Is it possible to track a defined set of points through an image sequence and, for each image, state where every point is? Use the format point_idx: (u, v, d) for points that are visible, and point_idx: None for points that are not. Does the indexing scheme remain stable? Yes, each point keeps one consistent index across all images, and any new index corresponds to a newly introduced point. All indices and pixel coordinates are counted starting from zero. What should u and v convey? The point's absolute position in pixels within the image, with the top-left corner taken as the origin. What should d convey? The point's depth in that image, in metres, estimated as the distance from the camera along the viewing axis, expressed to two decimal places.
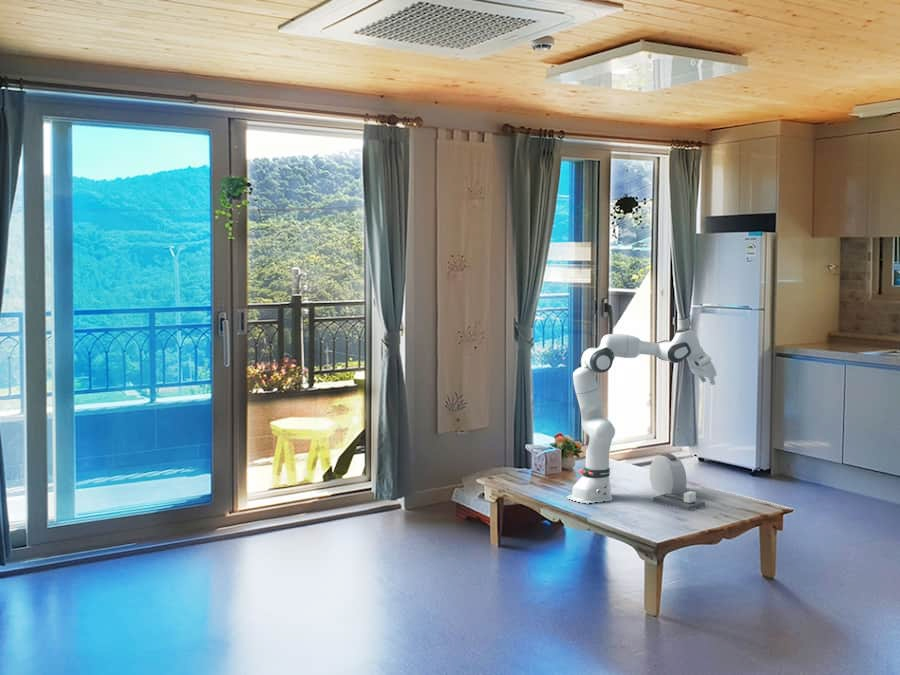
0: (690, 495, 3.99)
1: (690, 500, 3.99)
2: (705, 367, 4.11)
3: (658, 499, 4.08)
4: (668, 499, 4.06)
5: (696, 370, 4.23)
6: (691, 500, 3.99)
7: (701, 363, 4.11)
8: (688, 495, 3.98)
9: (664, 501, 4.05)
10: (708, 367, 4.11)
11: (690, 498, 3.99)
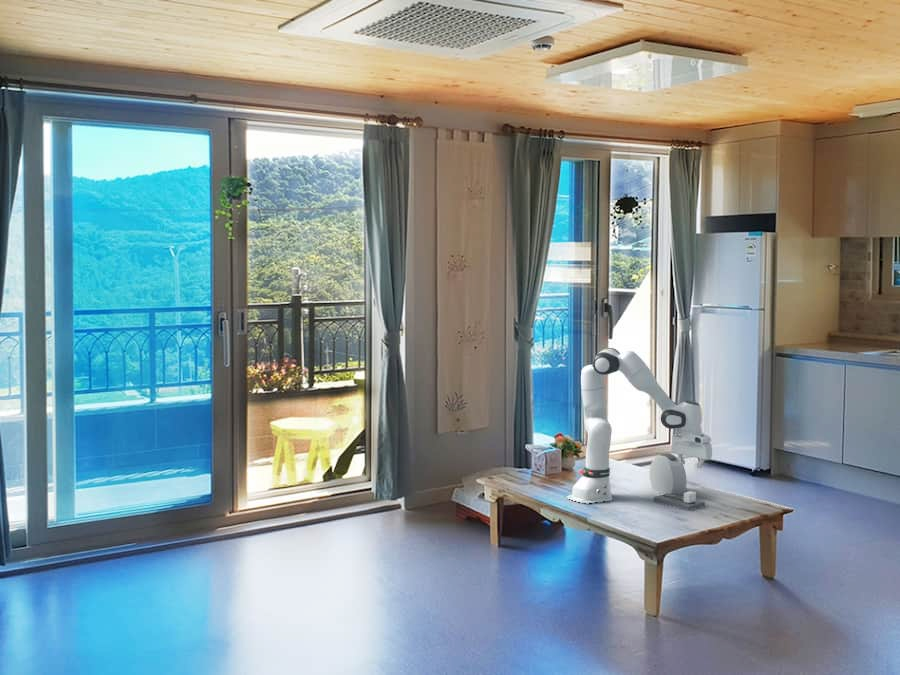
0: (690, 495, 3.99)
1: (690, 500, 3.99)
2: (706, 446, 3.90)
3: (658, 499, 4.08)
4: (668, 499, 4.06)
5: (683, 449, 4.00)
6: (691, 500, 3.99)
7: (704, 440, 3.90)
8: (688, 495, 3.98)
9: (664, 501, 4.05)
10: (708, 447, 3.91)
11: (690, 498, 3.99)
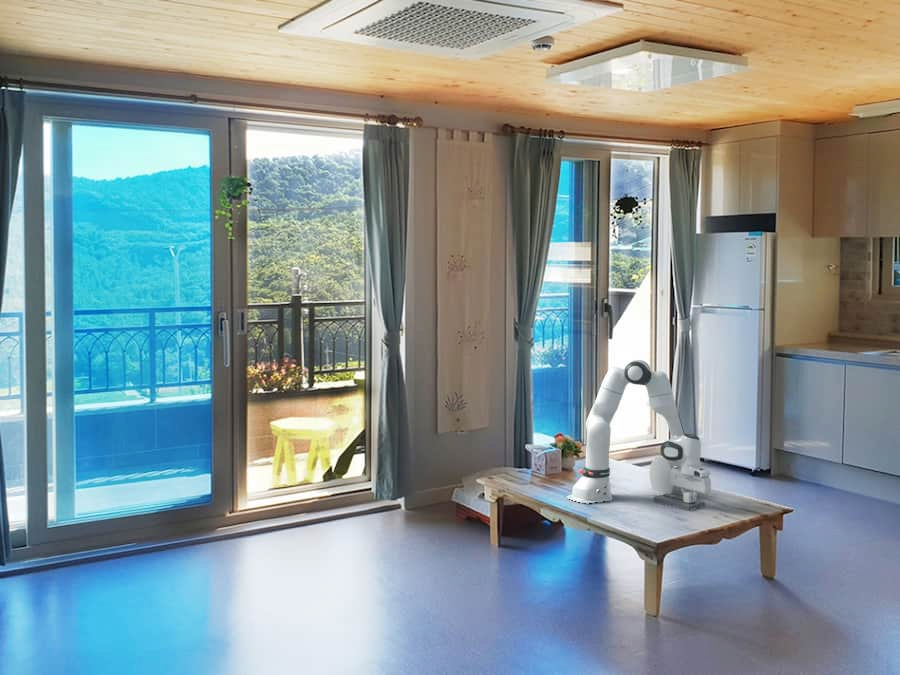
0: (690, 495, 3.99)
1: (690, 500, 3.99)
2: (705, 480, 3.92)
3: (658, 499, 4.08)
4: (668, 499, 4.06)
5: (682, 481, 4.01)
6: (691, 500, 3.99)
7: (703, 474, 3.92)
8: (688, 495, 3.98)
9: (664, 501, 4.05)
10: (707, 481, 3.92)
11: (690, 498, 3.99)
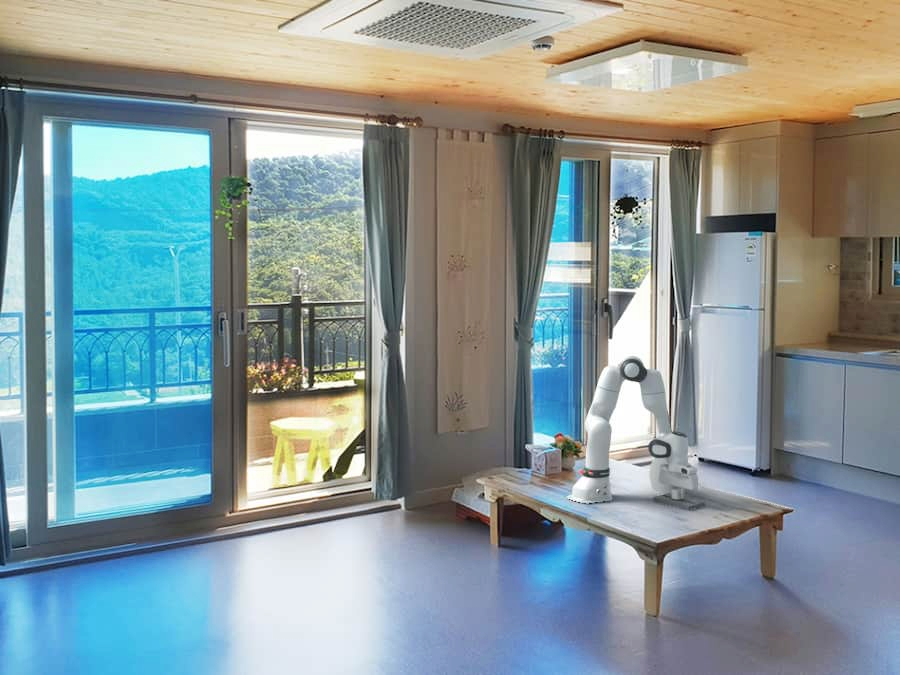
0: (678, 492, 4.04)
1: (678, 497, 4.04)
2: (692, 477, 3.97)
3: (658, 499, 4.08)
4: (668, 499, 4.06)
5: (670, 479, 4.06)
6: (679, 497, 4.05)
7: (690, 472, 3.97)
8: (676, 492, 4.04)
9: (664, 501, 4.05)
10: (694, 478, 3.97)
11: (678, 495, 4.04)
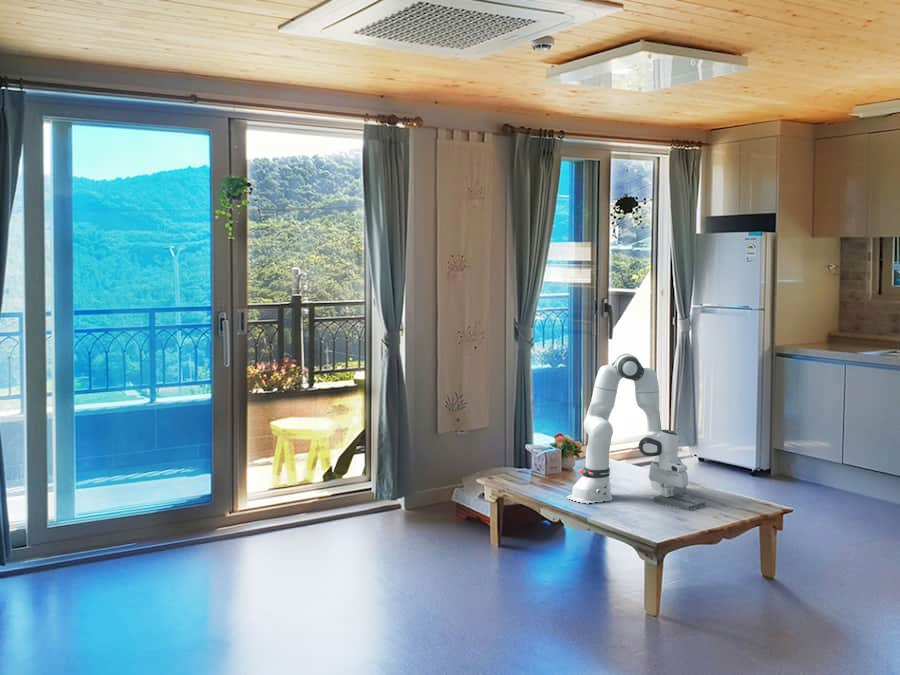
0: (668, 489, 4.08)
1: (668, 494, 4.08)
2: (682, 475, 4.01)
3: (658, 499, 4.08)
4: (668, 499, 4.06)
5: (660, 476, 4.11)
6: (669, 494, 4.09)
7: (680, 469, 4.01)
8: (666, 489, 4.08)
9: (664, 501, 4.05)
10: (684, 476, 4.02)
11: (668, 492, 4.08)
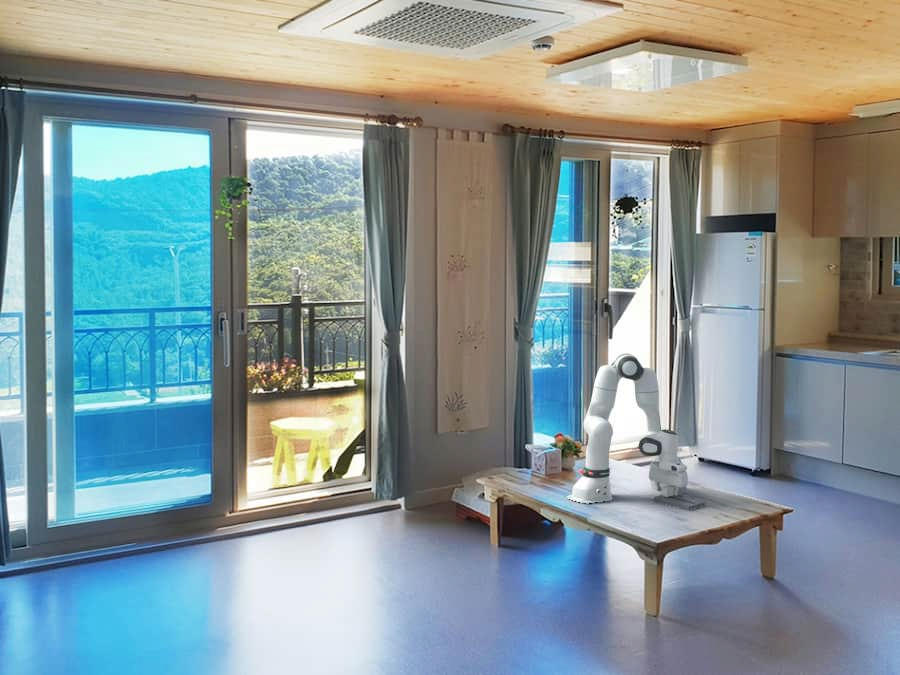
0: (668, 489, 4.08)
1: (668, 494, 4.09)
2: (682, 474, 4.01)
3: (658, 499, 4.08)
4: (668, 499, 4.06)
5: (660, 476, 4.11)
6: (669, 494, 4.09)
7: (680, 469, 4.01)
8: (666, 489, 4.08)
9: (664, 501, 4.05)
10: (683, 476, 4.02)
11: (668, 492, 4.09)
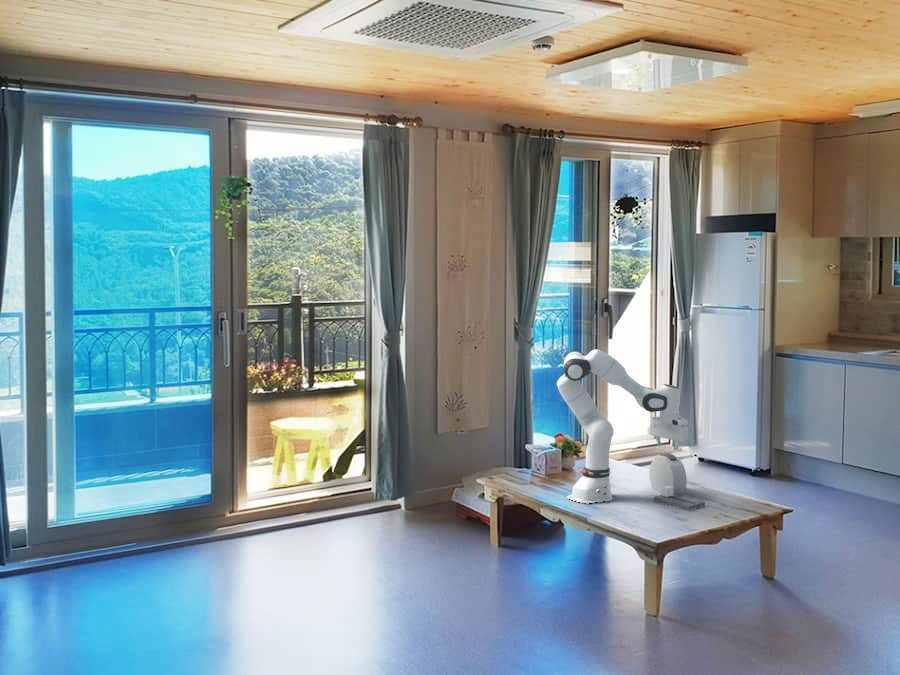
0: (668, 489, 4.08)
1: (668, 494, 4.09)
2: (682, 428, 4.00)
3: (658, 499, 4.08)
4: (668, 499, 4.06)
5: (661, 431, 4.10)
6: (669, 494, 4.09)
7: (681, 423, 4.00)
8: (666, 489, 4.08)
9: (664, 501, 4.05)
10: (684, 430, 4.01)
11: (668, 492, 4.09)
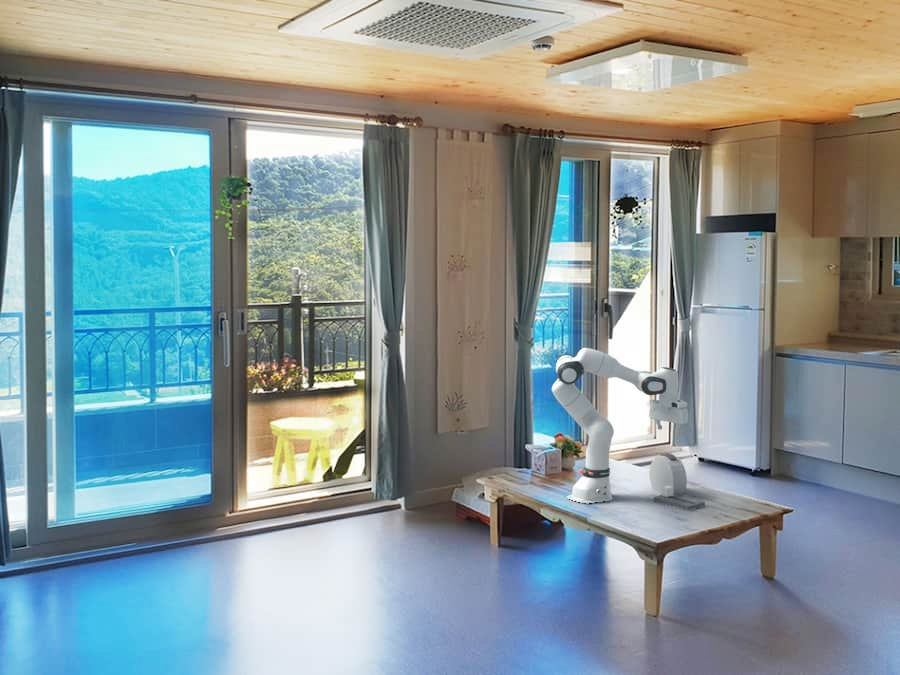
0: (668, 489, 4.08)
1: (668, 494, 4.09)
2: (682, 411, 4.01)
3: (658, 499, 4.08)
4: (668, 499, 4.06)
5: (661, 414, 4.10)
6: (669, 494, 4.09)
7: (680, 405, 4.00)
8: (666, 489, 4.08)
9: (664, 501, 4.05)
10: (684, 412, 4.01)
11: (668, 492, 4.09)
